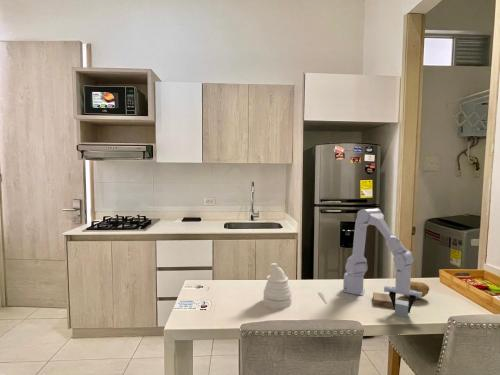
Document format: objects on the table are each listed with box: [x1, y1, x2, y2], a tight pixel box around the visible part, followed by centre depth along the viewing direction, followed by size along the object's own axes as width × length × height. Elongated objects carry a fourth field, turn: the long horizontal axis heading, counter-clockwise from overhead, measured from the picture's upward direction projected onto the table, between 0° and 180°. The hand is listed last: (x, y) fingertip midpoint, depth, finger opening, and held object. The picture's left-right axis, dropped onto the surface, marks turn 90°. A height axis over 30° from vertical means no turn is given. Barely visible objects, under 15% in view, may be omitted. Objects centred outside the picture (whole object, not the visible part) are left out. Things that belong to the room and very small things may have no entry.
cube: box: [394, 299, 409, 318], centre depth 140 cm, size 5×5×5 cm
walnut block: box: [372, 292, 393, 308], centre depth 152 cm, size 9×9×3 cm
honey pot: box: [262, 262, 293, 310], centre depth 150 cm, size 13×13×18 cm
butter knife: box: [317, 291, 328, 305], centre depth 150 cm, size 1×27×3 cm
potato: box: [403, 281, 430, 300], centre depth 158 cm, size 10×14×8 cm
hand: (401, 310), depth 140 cm, fingers closed on cube, 5 cm apart
